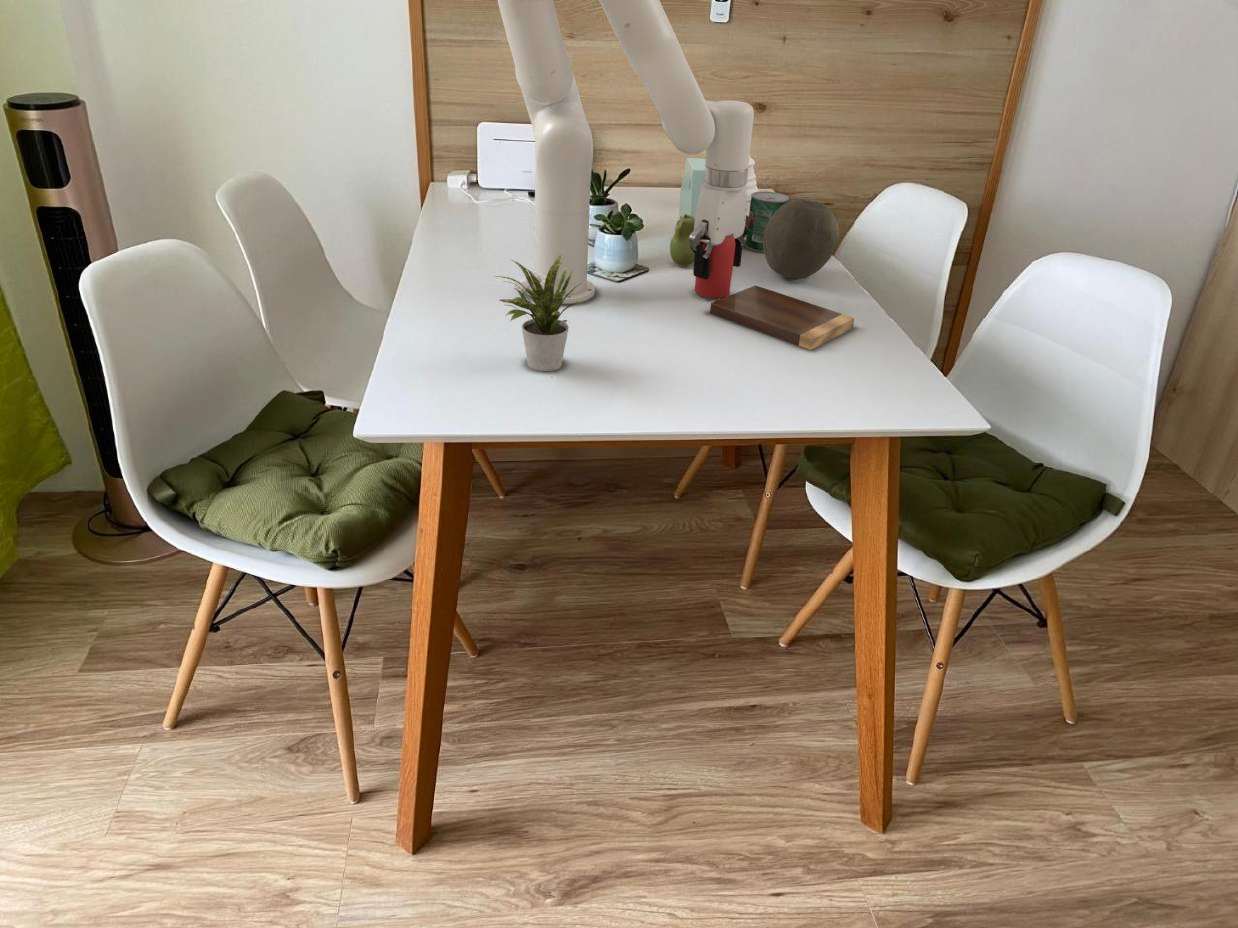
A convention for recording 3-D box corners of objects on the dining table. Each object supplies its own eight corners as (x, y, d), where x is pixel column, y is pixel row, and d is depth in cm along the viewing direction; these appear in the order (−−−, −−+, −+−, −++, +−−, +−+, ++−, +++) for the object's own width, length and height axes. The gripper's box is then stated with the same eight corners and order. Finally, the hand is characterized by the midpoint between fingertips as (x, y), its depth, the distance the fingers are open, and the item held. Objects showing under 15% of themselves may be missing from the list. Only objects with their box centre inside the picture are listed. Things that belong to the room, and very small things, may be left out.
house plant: (508, 338, 148) (507, 239, 139) (592, 346, 147) (596, 247, 138) (488, 375, 136) (485, 270, 127) (579, 384, 135) (583, 279, 126)
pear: (690, 259, 187) (694, 211, 182) (700, 268, 183) (705, 219, 177) (665, 261, 185) (669, 212, 180) (675, 270, 181) (679, 220, 176)
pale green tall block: (715, 270, 196) (733, 204, 177) (679, 268, 195) (694, 203, 177) (711, 208, 203) (728, 139, 184) (676, 207, 202) (690, 137, 184)
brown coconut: (810, 295, 173) (823, 216, 165) (746, 276, 180) (756, 200, 172) (842, 277, 183) (856, 202, 175) (780, 260, 190) (791, 187, 182)
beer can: (707, 285, 174) (714, 223, 168) (735, 294, 171) (744, 232, 164) (687, 294, 170) (693, 230, 163) (716, 303, 166) (723, 239, 160)
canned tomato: (742, 240, 200) (748, 190, 194) (777, 242, 200) (784, 192, 195) (747, 252, 193) (754, 200, 187) (784, 253, 194) (792, 202, 188)
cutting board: (810, 350, 150) (812, 339, 149) (709, 313, 162) (710, 303, 161) (852, 328, 160) (854, 317, 159) (753, 295, 171) (755, 285, 170)
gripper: (736, 165, 167) (727, 256, 176) (678, 181, 155) (671, 277, 164) (771, 173, 163) (760, 265, 171) (713, 190, 151) (704, 288, 160)
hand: (717, 271), depth 168 cm, fingers open, 9 cm apart
